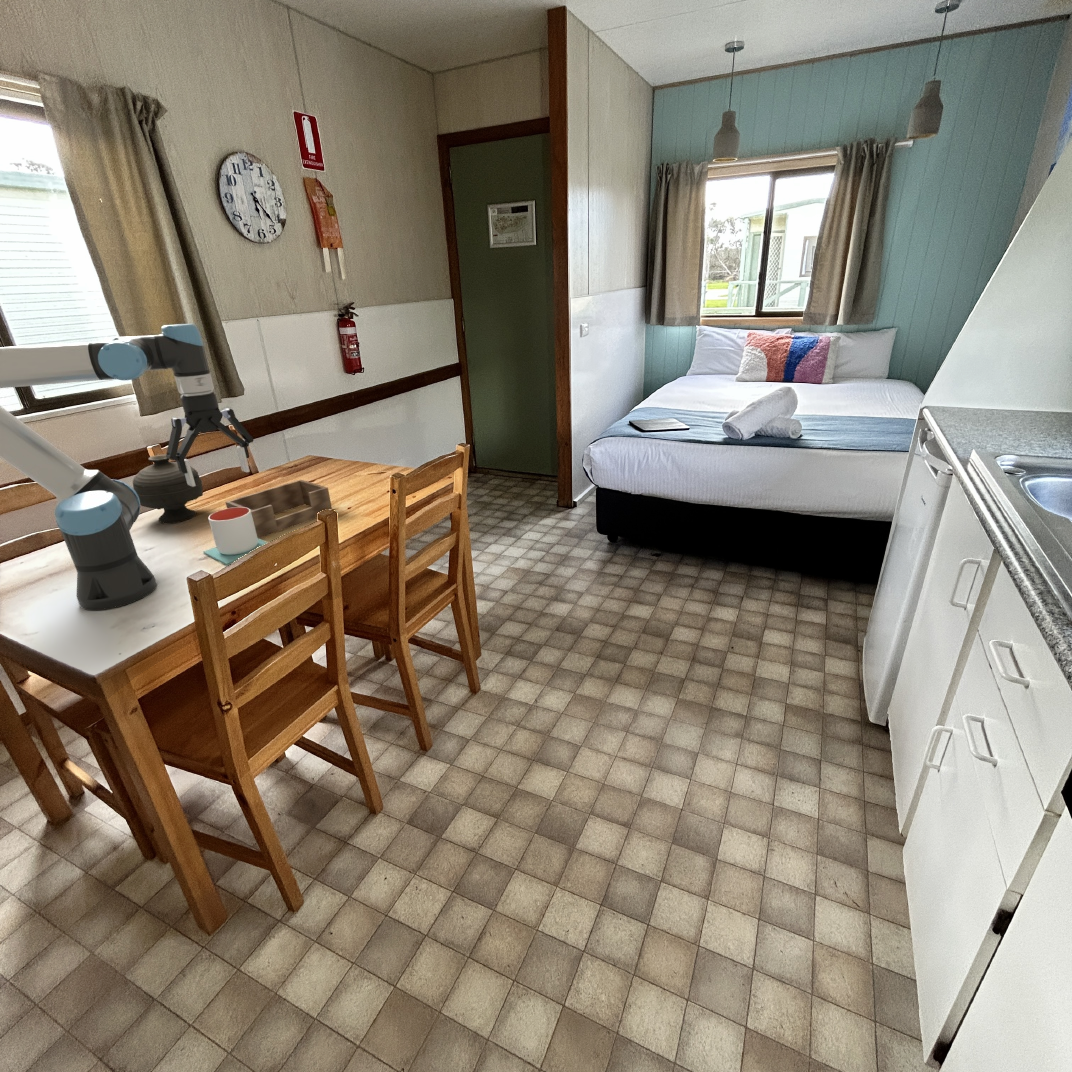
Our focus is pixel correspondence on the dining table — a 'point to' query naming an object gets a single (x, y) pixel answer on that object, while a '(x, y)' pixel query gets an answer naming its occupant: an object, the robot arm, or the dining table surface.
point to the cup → (233, 530)
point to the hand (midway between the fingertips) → (219, 478)
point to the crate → (283, 505)
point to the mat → (228, 558)
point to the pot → (167, 489)
